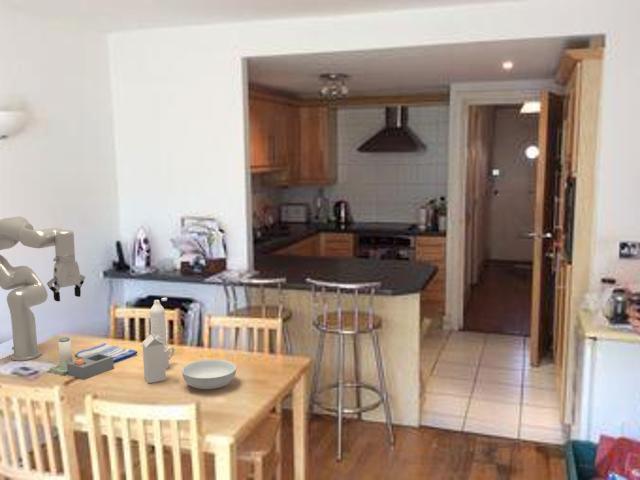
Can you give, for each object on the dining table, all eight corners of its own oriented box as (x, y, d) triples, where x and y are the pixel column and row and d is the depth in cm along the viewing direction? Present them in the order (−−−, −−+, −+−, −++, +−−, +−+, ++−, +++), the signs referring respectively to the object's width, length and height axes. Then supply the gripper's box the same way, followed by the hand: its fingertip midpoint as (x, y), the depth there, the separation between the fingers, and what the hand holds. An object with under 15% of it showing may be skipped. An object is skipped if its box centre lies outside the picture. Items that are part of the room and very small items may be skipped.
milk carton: (148, 383, 236) (145, 337, 234) (144, 378, 243) (141, 332, 240) (166, 380, 240) (163, 334, 237) (162, 375, 246) (159, 330, 243)
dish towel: (105, 347, 284) (105, 341, 284) (139, 355, 271) (139, 349, 271) (73, 357, 270) (72, 351, 269) (107, 367, 257) (107, 361, 257)
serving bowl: (211, 399, 221) (211, 381, 220) (171, 388, 232) (170, 371, 231) (247, 381, 238) (247, 364, 237) (208, 371, 249) (207, 355, 248)
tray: (50, 372, 251) (50, 368, 251) (69, 365, 258) (69, 361, 258) (63, 375, 246) (63, 372, 246) (82, 369, 254) (82, 365, 253)
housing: (67, 375, 247) (66, 363, 246) (98, 364, 260) (97, 353, 259) (83, 379, 242) (82, 367, 241) (113, 368, 254) (113, 356, 254)
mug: (150, 374, 247) (149, 355, 246) (139, 367, 255) (138, 349, 254) (180, 366, 255) (179, 348, 254) (169, 360, 263) (168, 342, 262)
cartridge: (57, 369, 251) (55, 339, 249) (68, 365, 255) (65, 336, 253) (65, 371, 249) (62, 341, 247) (75, 367, 253) (73, 338, 251)
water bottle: (158, 357, 267) (155, 302, 264) (149, 354, 271) (146, 300, 268) (173, 352, 274) (171, 298, 271) (164, 349, 278) (161, 296, 275)
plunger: (74, 369, 246) (74, 360, 245) (81, 367, 248) (80, 358, 248) (79, 370, 244) (78, 361, 243) (85, 368, 247) (85, 359, 246)
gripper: (51, 263, 245) (54, 304, 247) (88, 257, 259) (90, 295, 262) (41, 261, 249) (43, 301, 252) (78, 255, 263) (80, 293, 266)
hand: (67, 298), depth 257 cm, fingers open, 9 cm apart
